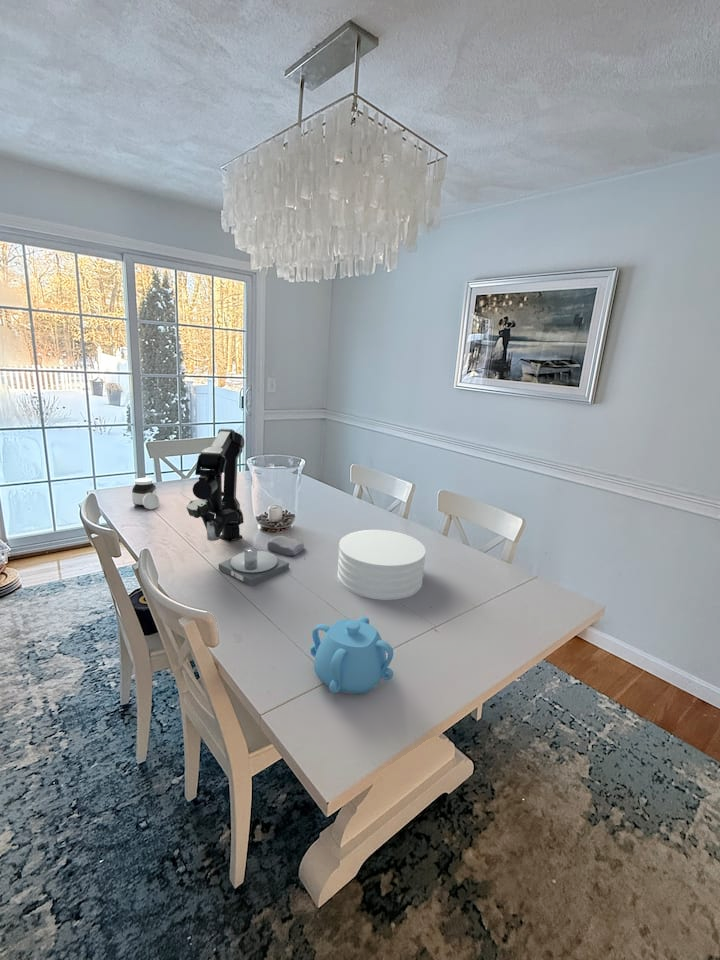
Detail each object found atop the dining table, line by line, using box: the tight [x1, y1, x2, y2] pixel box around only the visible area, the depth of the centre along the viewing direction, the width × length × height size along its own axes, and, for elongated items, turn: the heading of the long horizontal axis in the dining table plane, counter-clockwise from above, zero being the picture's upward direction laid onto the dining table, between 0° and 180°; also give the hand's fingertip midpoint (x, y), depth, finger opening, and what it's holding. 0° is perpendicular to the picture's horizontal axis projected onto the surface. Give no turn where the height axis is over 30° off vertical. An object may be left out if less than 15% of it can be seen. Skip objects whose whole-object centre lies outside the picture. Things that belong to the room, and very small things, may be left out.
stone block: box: [266, 535, 305, 557], centre depth 165 cm, size 12×5×10 cm
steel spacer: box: [206, 520, 221, 542], centre depth 148 cm, size 4×4×6 cm
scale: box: [218, 548, 290, 586], centre depth 148 cm, size 16×17×3 cm
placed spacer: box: [243, 547, 258, 570], centre depth 142 cm, size 4×4×6 cm
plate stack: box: [337, 529, 427, 601], centre depth 147 cm, size 28×28×12 cm
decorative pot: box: [309, 616, 394, 695], centre depth 100 cm, size 16×16×14 cm
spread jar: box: [131, 477, 160, 510], centre depth 197 cm, size 12×11×12 cm
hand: (213, 534), depth 148 cm, fingers closed on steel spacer, 4 cm apart
